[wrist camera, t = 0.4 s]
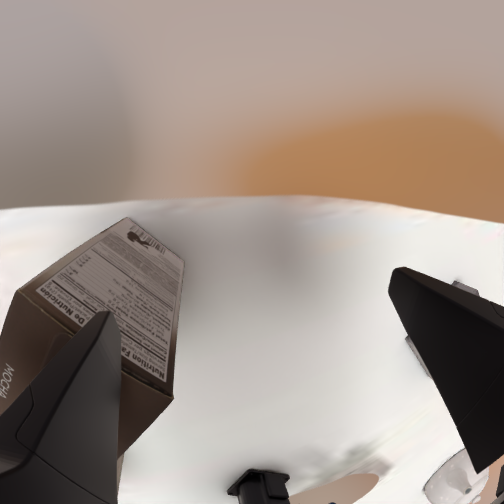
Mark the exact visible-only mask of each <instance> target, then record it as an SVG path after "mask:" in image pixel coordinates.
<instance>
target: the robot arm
mask: <svg viewBox="0 0 504 504" xmlns="http://www.w3.org/2000/svg"><path fill="white" fill-rule="evenodd" d="M388 293H389V296H390V298H391V300H392V303H393V305H394V307H395V309H396V311H397V313H398V315H399V317H400V319H401V322H402V324H403V326H404V328H405V330H406V332H407V334H408V336H409V337H410V339H411V341H412V343H413V344H414V346H415V348H416V350H417V351H418V353H419V355H420V357H421V359H422V360H423V362H424V364H425V366H426V368H427V370H428V371H429V373H430V375H431V377H432V379H433V381H434V383H435V385H436V387H437V389H438V390H439V392H440V394H441V396H442V398H443V400H444V402H445V404H446V406H447V409H448V411H449V413H450V415H451V417H452V419H453V421H454V423H455V425H456V426H457V427H456V428H457V430H458V432H459V435H460V437H461V439H462V441H463V444H464V446H465V448H466V450H467V453H468V455H469V458H470V460H471V462H472V465H473V467H474V470H475V472H476V474H479V473H480V472H482V471H483V470H484V469H486V468H487V467H488V466H490V465H491V464H492V463H493V462H495V461H496V460H497V459H499V458H500V457H501V456H502V455H503V454H504V307H503V306H501V305H498V304H496V303H494V302H491V301H490V302H489V300H487V299H484V298H482V297H479V296H477V295H475V294H472V293H470V292H467V291H465V290H463V289H460V288H458V287H455V286H453V285H450V284H448V283H445V282H443V281H440V280H438V279H435V278H433V277H430V276H428V275H425V274H423V273H420V272H417V271H415V270H412V269H410V268H407V267H399V268H395V269H394V270H393V272H392V275H391V280H390V284H389V288H388ZM120 393H121V332H120V329H119V327H118V324H117V322H116V319H115V317H114V314H113V312H112V311H110V310H104V311H98V312H97V313H96V314H95V315H94V316H93V317H92V318H91V319H90V320H89V321H88V322H87V323H86V324H85V325H84V326H83V327H82V328H81V329H80V330H79V331H78V332H77V333H76V334H75V335H74V336H73V337H72V338H71V339H70V340H69V341H68V342H67V344H66V345H65V346H64V347H63V348H62V349H61V350H60V351H59V352H58V353H57V354H56V355H55V356H54V357H53V358H52V359H51V360H50V362H49V363H48V364H47V365H46V366H45V367H44V368H43V369H42V370H41V371H40V372H39V374H38V375H37V376H36V377H35V378H34V379H33V380H32V381H31V382H30V385H28V386H27V387H26V388H25V389H24V390H23V391H22V393H21V394H20V395H19V396H18V397H17V398H16V399H15V400H14V401H13V402H12V404H11V405H10V406H9V407H8V408H7V409H6V410H5V411H4V412H3V413H2V414H1V415H0V504H118V500H117V442H118V421H119V405H120ZM289 479H290V477H289V475H284V474H277V473H270V472H264V471H258V470H248V471H247V472H246V473H245V474H244V475H243V476H242V477H241V478H240V479H239V480H238V481H237V482H236V483H235V484H234V485H233V486H232V487H231V488H230V489H229V490H228V491H227V494H228V495H232V496H238V501H239V504H290V502H289V499H288V498H289V495H288V492H287V489H286V486H285V483H286V482H287V481H288V480H289ZM496 496H497V499H496V500H494V501H493V502H492V503H491V504H504V465H503V466H502V467H501V472H500V477H499V482H498V487H497V492H496Z"/></svg>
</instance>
